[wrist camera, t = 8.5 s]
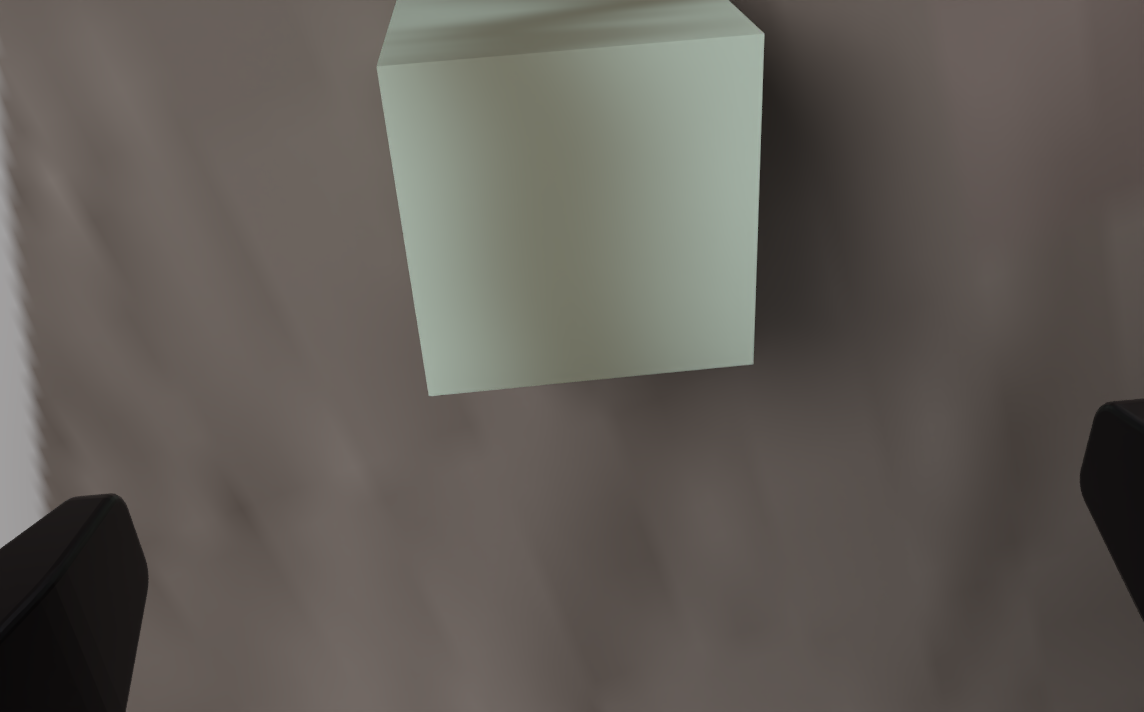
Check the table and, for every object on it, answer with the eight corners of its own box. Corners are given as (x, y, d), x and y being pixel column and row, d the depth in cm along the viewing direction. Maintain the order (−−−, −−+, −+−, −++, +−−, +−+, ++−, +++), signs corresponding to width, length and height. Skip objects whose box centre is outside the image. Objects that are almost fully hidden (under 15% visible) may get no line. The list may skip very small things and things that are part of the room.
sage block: (692, -35, 17) (764, 33, 13) (692, 234, 20) (753, 364, 16) (399, -11, 17) (376, 66, 13) (438, 258, 20) (429, 396, 16)
